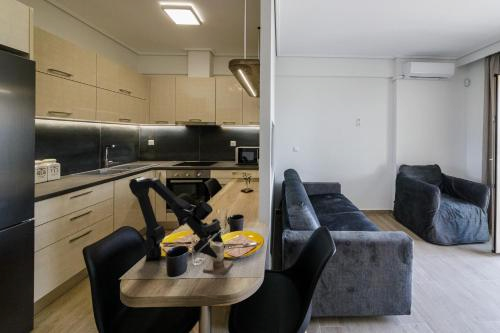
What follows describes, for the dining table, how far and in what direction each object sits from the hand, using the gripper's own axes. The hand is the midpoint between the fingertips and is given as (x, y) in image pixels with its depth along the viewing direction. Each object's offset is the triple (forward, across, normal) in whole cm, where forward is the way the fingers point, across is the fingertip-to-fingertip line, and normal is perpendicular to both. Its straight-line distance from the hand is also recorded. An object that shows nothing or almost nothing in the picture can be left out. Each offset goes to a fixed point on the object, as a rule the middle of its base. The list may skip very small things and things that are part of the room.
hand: (220, 252), depth 118 cm
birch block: (+1, 0, +3) cm, 3 cm away
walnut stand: (+4, 0, +6) cm, 7 cm away
